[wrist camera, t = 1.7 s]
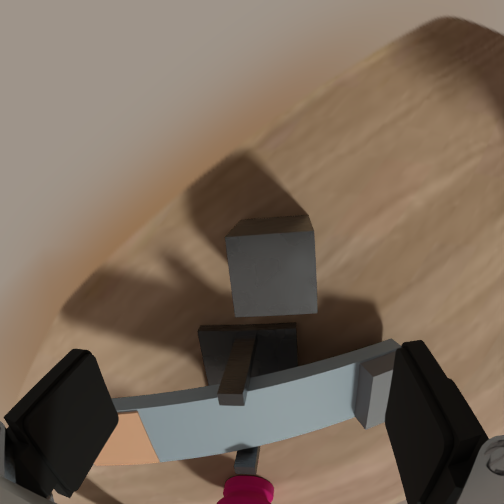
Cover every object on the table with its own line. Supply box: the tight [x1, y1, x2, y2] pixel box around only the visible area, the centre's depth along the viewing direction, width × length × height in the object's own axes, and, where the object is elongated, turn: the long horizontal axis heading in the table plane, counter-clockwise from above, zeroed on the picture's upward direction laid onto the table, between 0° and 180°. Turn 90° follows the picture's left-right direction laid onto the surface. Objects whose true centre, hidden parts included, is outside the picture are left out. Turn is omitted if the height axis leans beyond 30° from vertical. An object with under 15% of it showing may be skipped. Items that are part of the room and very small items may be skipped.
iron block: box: [225, 215, 317, 317], centre depth 21 cm, size 5×5×6 cm
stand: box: [198, 323, 298, 474], centre depth 23 cm, size 8×10×8 cm
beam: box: [93, 339, 401, 466], centre depth 21 cm, size 26×6×4 cm, turn 95°
